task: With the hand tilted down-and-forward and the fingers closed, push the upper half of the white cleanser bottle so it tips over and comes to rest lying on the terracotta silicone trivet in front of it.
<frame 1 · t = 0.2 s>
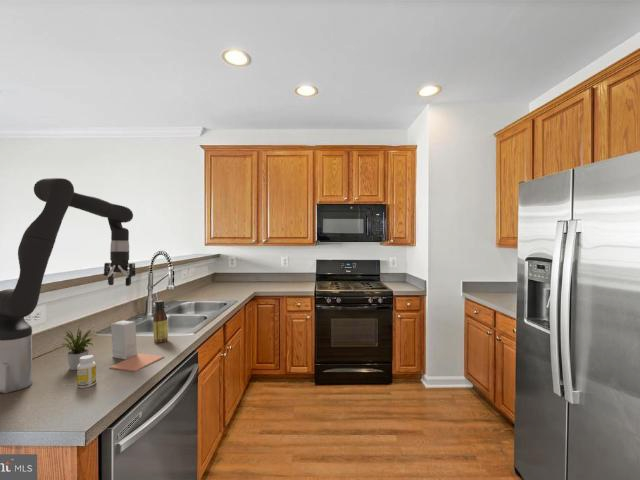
hand: (119, 285, 158), 29 cm above the countertop, tool pointing down, fingers open, 8 cm apart
sauce bottle: (160, 341, 168), on the countertop
trivet: (138, 362, 140), on the countertop
supplement bottle: (86, 385, 119), on the countertop
house plant: (73, 368, 133), on the countertop
skincare box: (124, 357, 146), on the countertop
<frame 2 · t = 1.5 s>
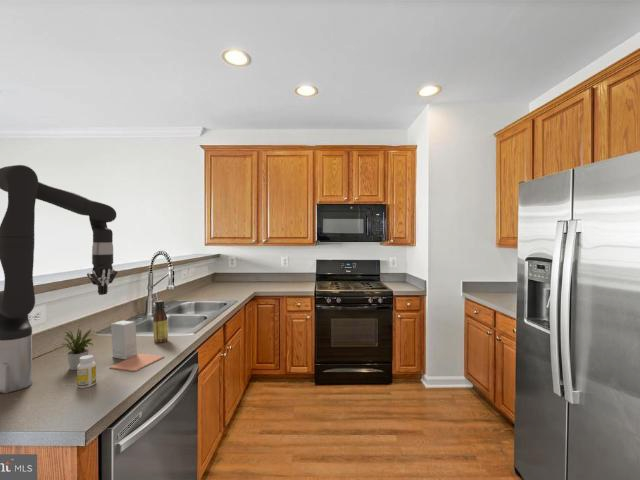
hand: (102, 294, 144), 27 cm above the countertop, tool pointing down, fingers closed
nothing on the countertop moved.
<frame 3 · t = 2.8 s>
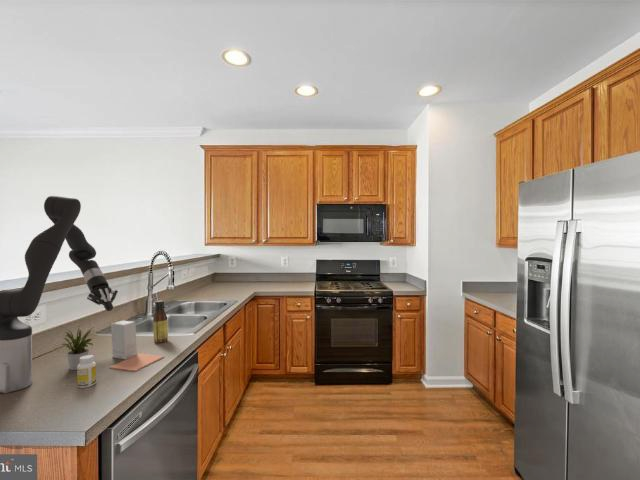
hand: (110, 309, 152), 19 cm above the countertop, tool tilted 45°, fingers closed
nothing on the countertop moved.
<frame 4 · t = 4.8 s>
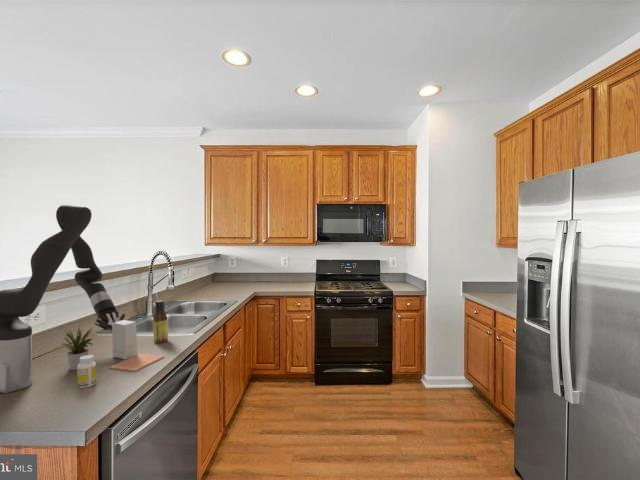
hand: (118, 335, 149), 8 cm above the countertop, tool tilted 45°, fingers closed
skincare box: (124, 356, 146), on the countertop, touching gripper
everything else where it was.
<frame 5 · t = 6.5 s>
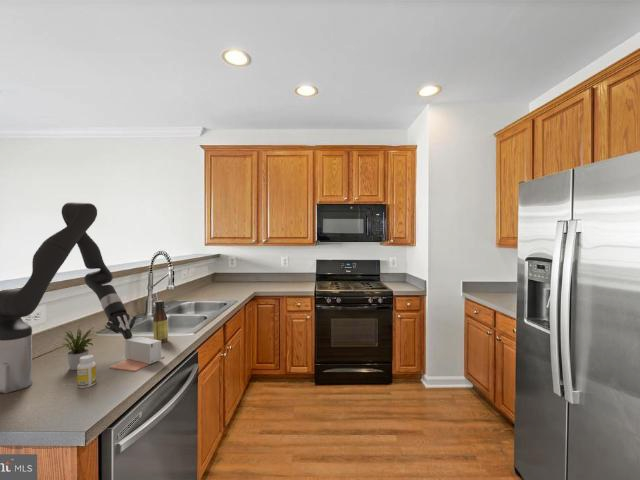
hand: (129, 338, 144), 8 cm above the countertop, tool tilted 45°, fingers closed
skincare box: (130, 346, 145), point 5 cm above the countertop, touching gripper, trivet
everything else where it was.
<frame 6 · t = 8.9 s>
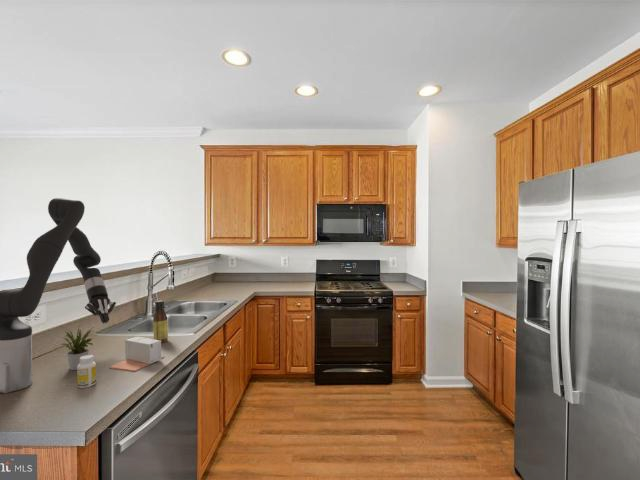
hand: (106, 322, 150), 14 cm above the countertop, tool tilted 40°, fingers closed
skincare box: (130, 346, 145), point 5 cm above the countertop, touching trivet
everything else where it was.
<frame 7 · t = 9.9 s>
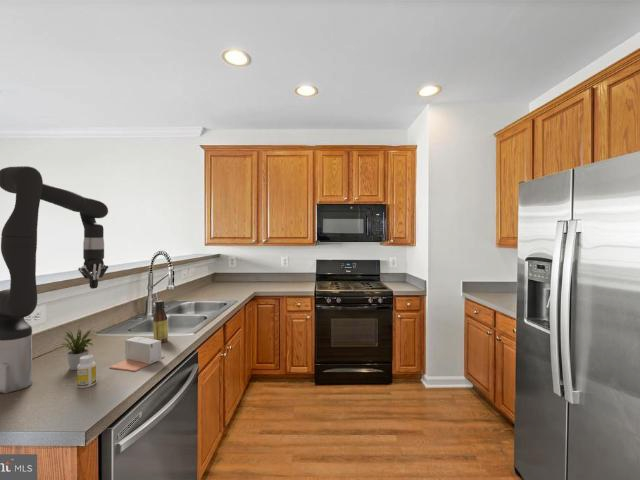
hand: (93, 288, 148), 29 cm above the countertop, tool pointing down, fingers closed
nothing on the countertop moved.
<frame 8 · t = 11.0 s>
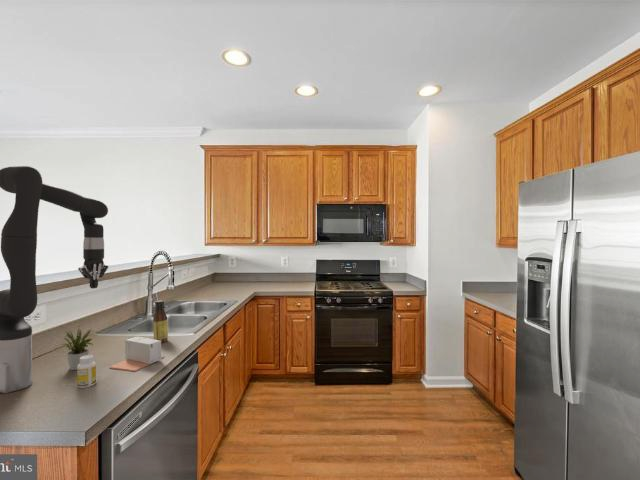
hand: (93, 288, 148), 29 cm above the countertop, tool pointing down, fingers closed
nothing on the countertop moved.
at the end: skincare box tilted 91°; skincare box inside the target area (5.2 cm from its centre), point 4.7 cm above the countertop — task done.
